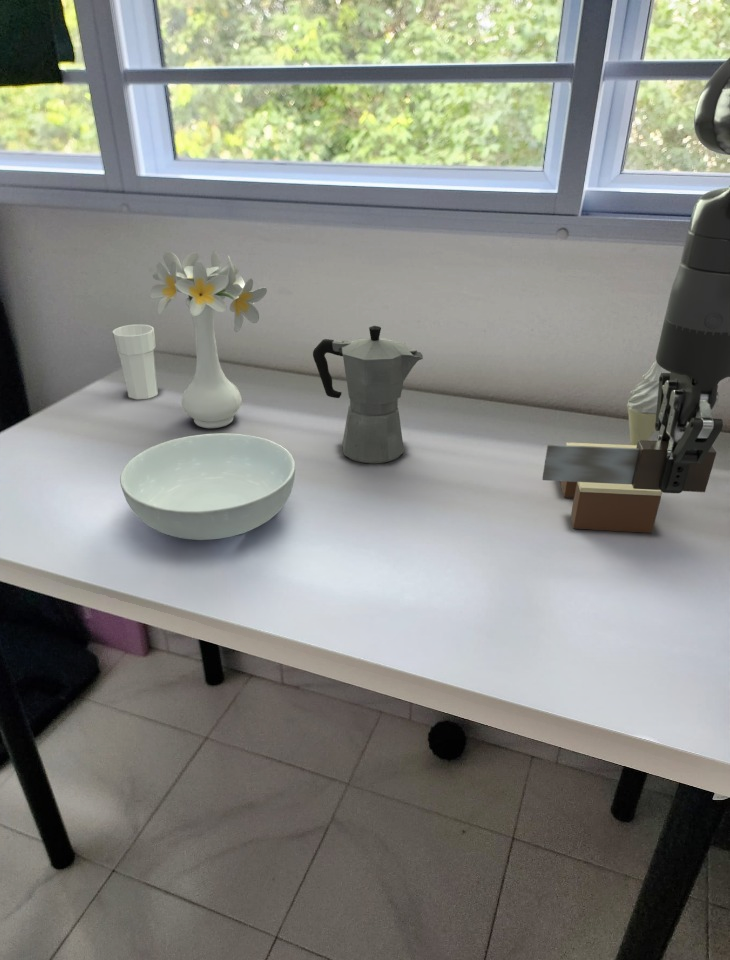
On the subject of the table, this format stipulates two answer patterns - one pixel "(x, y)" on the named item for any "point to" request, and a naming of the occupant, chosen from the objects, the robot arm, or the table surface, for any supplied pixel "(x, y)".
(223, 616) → the table surface
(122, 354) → the cup
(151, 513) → the serving bowl
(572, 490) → the cake
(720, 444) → the table surface
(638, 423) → the ice cream cone
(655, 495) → the cake slice
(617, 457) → the knife
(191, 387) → the flower vase
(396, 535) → the table surface
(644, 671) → the table surface
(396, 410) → the coffeepot
